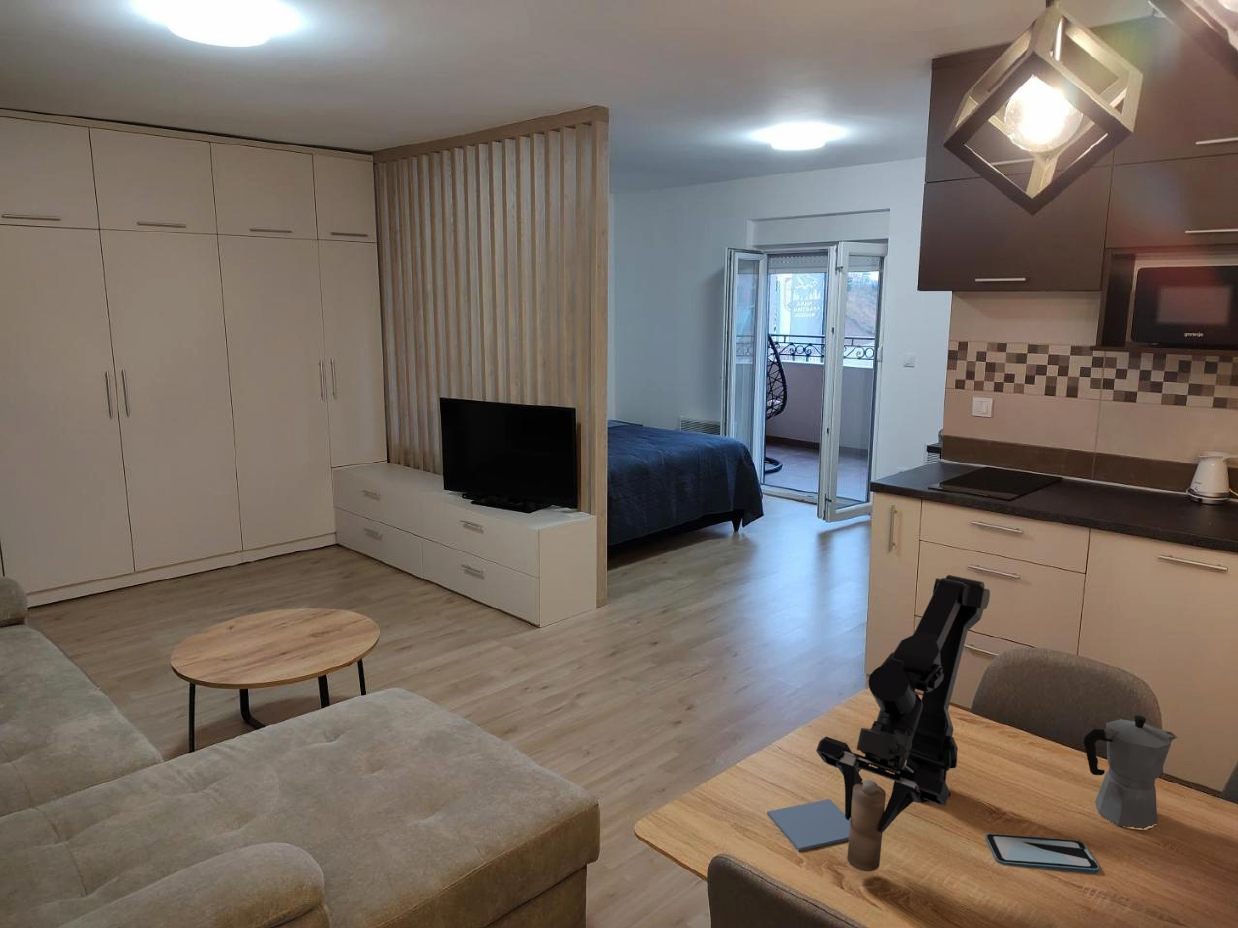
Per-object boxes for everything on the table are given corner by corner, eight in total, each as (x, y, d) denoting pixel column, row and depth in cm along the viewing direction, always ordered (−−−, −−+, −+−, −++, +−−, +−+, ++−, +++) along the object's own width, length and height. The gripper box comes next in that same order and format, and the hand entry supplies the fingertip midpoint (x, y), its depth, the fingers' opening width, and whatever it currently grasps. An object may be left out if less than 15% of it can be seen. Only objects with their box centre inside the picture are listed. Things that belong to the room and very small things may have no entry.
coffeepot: (1145, 798, 148) (1160, 702, 145) (1182, 831, 139) (1199, 730, 135) (1059, 798, 148) (1072, 702, 144) (1090, 832, 138) (1105, 730, 135)
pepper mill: (867, 848, 129) (873, 772, 126) (886, 867, 125) (893, 789, 122) (841, 854, 127) (847, 777, 125) (859, 873, 123) (866, 795, 121)
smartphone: (983, 832, 137) (1082, 839, 135) (983, 837, 137) (1081, 845, 135) (997, 862, 130) (1101, 870, 128) (997, 867, 130) (1101, 875, 128)
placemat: (829, 801, 145) (829, 798, 145) (864, 836, 136) (864, 833, 136) (767, 813, 141) (767, 811, 141) (798, 850, 132) (798, 848, 132)
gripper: (825, 687, 130) (789, 785, 123) (950, 725, 119) (918, 835, 113) (841, 715, 138) (808, 808, 131) (961, 753, 127) (931, 857, 120)
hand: (863, 825), depth 124 cm, fingers closed on pepper mill, 5 cm apart
